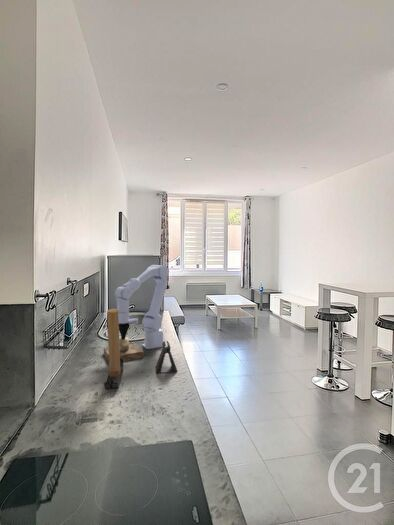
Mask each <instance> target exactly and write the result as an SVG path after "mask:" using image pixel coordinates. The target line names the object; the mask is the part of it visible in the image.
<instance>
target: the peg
mask: <svg viewBox="0 0 394 525" xmlns="http://www.w3.org/2000/svg"><path fill="white" fill-rule="evenodd" d="M129 344H130V339H129V337H128V336H127V337H125V339H121V337H119V347H120V351H128V350H129Z"/></svg>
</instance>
